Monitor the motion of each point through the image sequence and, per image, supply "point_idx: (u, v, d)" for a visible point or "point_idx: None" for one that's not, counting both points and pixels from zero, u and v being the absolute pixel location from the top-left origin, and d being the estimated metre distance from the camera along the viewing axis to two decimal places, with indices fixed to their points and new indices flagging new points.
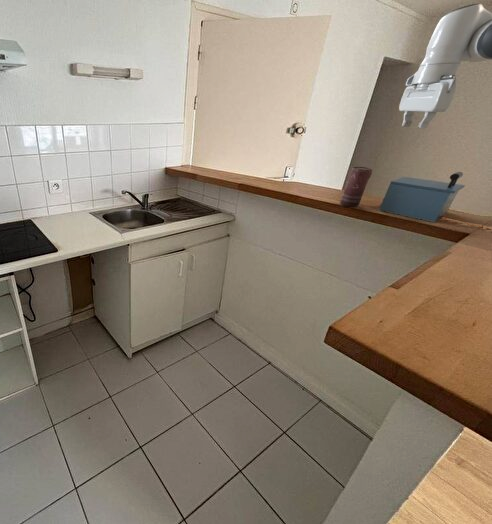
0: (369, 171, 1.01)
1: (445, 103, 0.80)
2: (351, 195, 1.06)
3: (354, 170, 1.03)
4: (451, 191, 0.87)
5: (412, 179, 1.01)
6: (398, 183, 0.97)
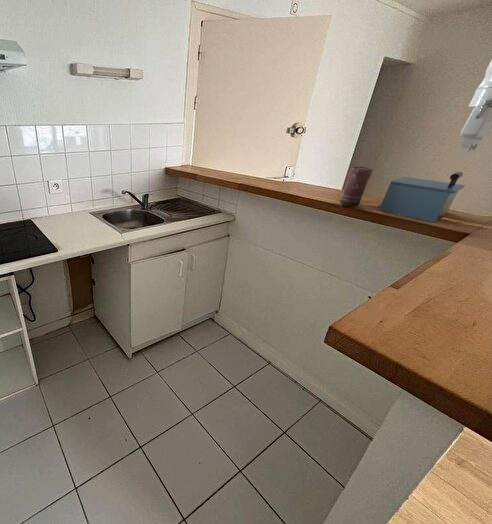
0: (369, 171, 1.01)
1: (473, 129, 0.78)
2: (351, 195, 1.06)
3: (354, 170, 1.03)
4: (451, 191, 0.87)
5: (412, 179, 1.01)
6: (398, 183, 0.97)
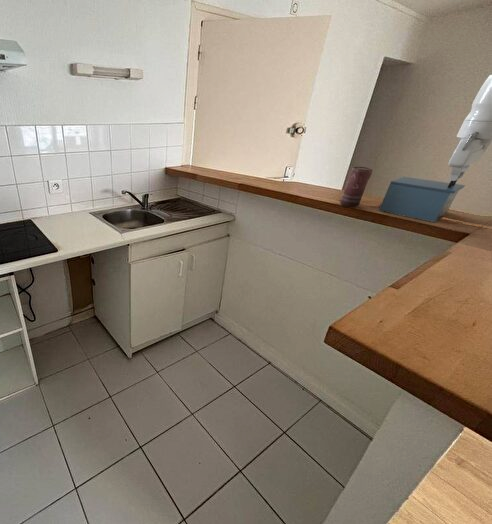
0: (369, 171, 1.01)
1: (460, 160, 0.82)
2: (351, 195, 1.06)
3: (354, 170, 1.03)
4: (451, 191, 0.87)
5: (412, 179, 1.01)
6: (398, 183, 0.97)
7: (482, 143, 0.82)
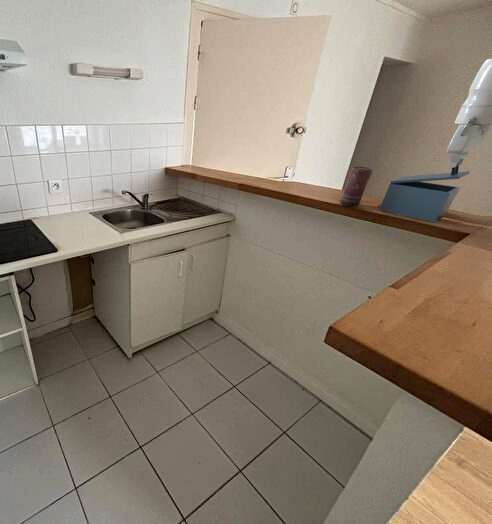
0: (369, 171, 1.01)
1: (458, 146, 0.81)
2: (351, 195, 1.06)
3: (354, 170, 1.03)
4: (456, 177, 0.86)
5: (412, 176, 1.00)
6: (398, 181, 0.97)
7: (480, 128, 0.82)
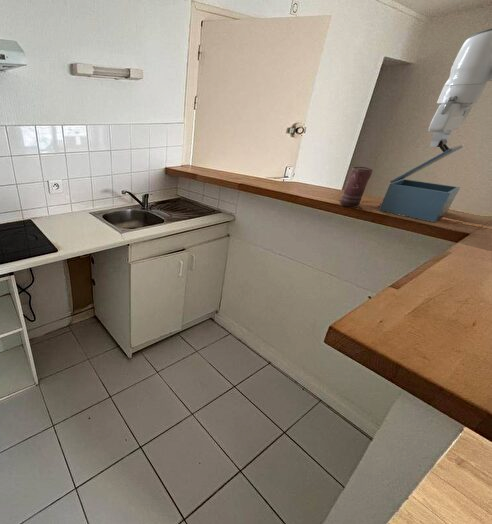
0: (369, 171, 1.01)
1: (439, 124, 0.83)
2: (351, 195, 1.06)
3: (354, 170, 1.03)
4: (448, 150, 0.86)
5: None
6: (397, 178, 0.97)
7: (461, 107, 0.84)
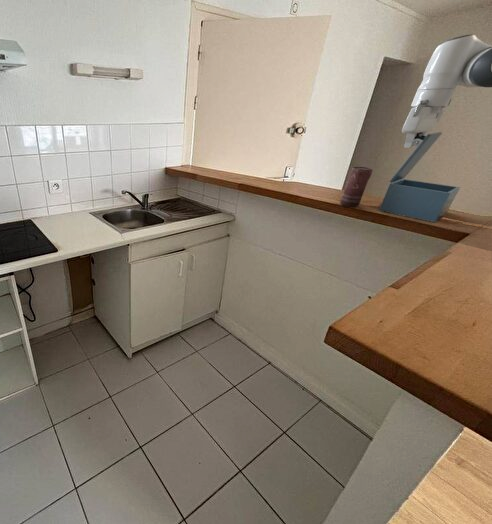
0: (369, 171, 1.01)
1: (411, 126, 0.88)
2: (351, 195, 1.06)
3: (354, 170, 1.03)
4: (427, 136, 0.88)
5: None
6: (395, 176, 0.97)
7: (432, 110, 0.89)
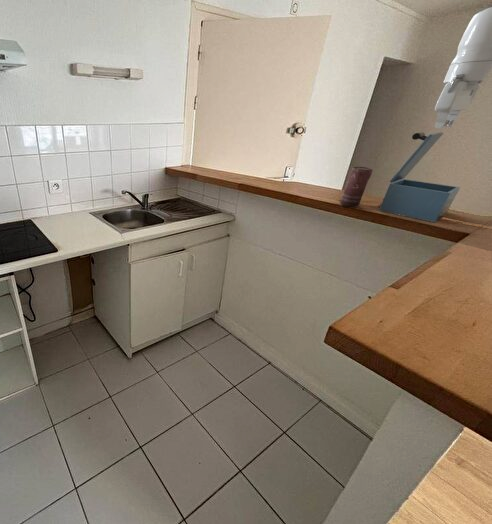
0: (369, 171, 1.01)
1: (446, 103, 0.81)
2: (351, 195, 1.06)
3: (354, 170, 1.03)
4: (428, 136, 0.88)
5: None
6: (395, 176, 0.97)
7: (468, 86, 0.81)
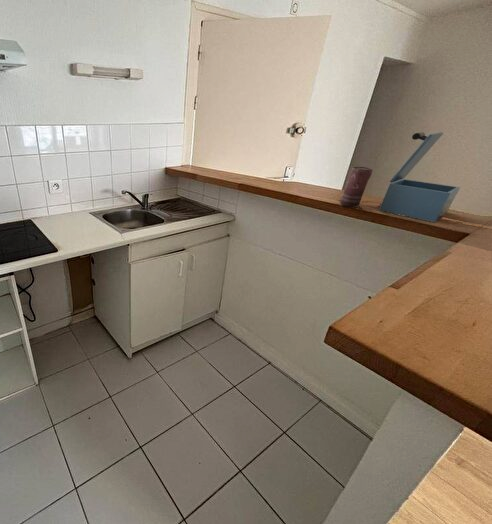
0: (369, 171, 1.01)
1: None
2: (351, 195, 1.06)
3: (354, 170, 1.03)
4: (428, 136, 0.88)
5: None
6: (395, 176, 0.97)
7: None
